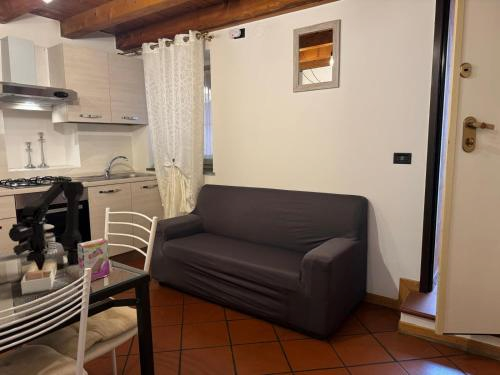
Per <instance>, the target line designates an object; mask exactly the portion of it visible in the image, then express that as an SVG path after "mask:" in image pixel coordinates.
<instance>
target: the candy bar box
mask: <svg viewBox="0 0 500 375" xmlns="http://www.w3.org/2000/svg"><path fill="white" fill-rule="evenodd" d="M83 242H84V241H83ZM108 244H109V241H108V239H105V238H98V239H93V240H89V241H85V242H84V243H80V244H77V248H78V261H79V264H78V272H79V279H80V278H81V277H82V276H83V275H84V269H85V268H91V269H92V280H95V279H97V278H99V277H102V276H105V275H108V274H109V275H110V261H109V245H108ZM95 281H96V280H95Z"/></svg>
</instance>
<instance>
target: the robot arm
mask: <svg viewBox="0 0 500 375" xmlns="http://www.w3.org/2000/svg"><path fill="white" fill-rule="evenodd" d="M84 189H85V187H84V184H83V183H82V182H81V181H66V180H56V181H54V182H53V184H52V185H51V186H50V187H49V188H48V189H47V190H46V191H44V192H43V194H42V195H41V196H39V198H38V199H36V200H33V201H31V202H29V203H28V204H27V205H25V206H24V207H23V209H22V212H21V214H20V217H19V219H18V221H17V223H13V224H12V227H11V228H10V229H9V232H8V237H9V239H10V240H11V241H13V242H15V243H17V242H21V241H23V240H25V239H27V240H26V241H23V242H21V243H19V244H16V245H14V247H13V248H12V250H13V253H14V254H15V255H16V256H19V255H21V254H23V253H25V252H27V251H28V252H29V253H28V254H27V255H26V262H35V263H36V265H37V267H38V269H39V270H42V268H43V265H44V262H45V261H46V258H47V256H48V255H47V252H48V251H45V250H43V249H46V247H47V248H49V247H50V246H49V243H48V242H47V241H45V237H46V236H45V233H46V232H45V230H44V224H45V223H46V222H48V219H46V217H45V218H44V216H46V215H47V213H48V211H49V206H50V205H52V203H53V202H54V201H55V200H56V199H57V198H58V197H59V196H60V195H61V194H62V193H63V195H64V198H66V200H67V202H66V207H67V208H66V226H65V228H66V229H65V231H64V233H61V234H60V244H61V247H62V248H63V251H64V252H67V253H66V261H67V264H68V266H72V265H73V266H74V265H79V261H78V248H77V244H80V243H84V241H83V240H82V234H81V233H80V231H79V214H80V213H79V210H80V209H79V208H80V200H81V198H82V196H83V195H84Z"/></svg>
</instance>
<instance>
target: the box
mask: <svg viewBox="0 0 500 375" xmlns="http://www.w3.org/2000/svg"><path fill="white" fill-rule="evenodd" d="M54 282H55V279H54V273H53V269H52V270H51V273H50V277H49V278H42V279H36V280H30V281H28V278H27V272H25V273H24V275H23V277H22V279H21V281H20V288H21V293H22V295H27V294H33V293H39V292H45V291H51V290H53V286H54Z"/></svg>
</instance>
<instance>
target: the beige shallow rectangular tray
mask: <svg viewBox="0 0 500 375" xmlns="http://www.w3.org/2000/svg"><path fill="white" fill-rule="evenodd" d="M52 269H53V273H54V280H55V278H56V273H57V270H58V261H57V259H56V258H55V259H47V260H46V259H45V262H44V265H43V268H42V270H43V278H49V277H50V273H51V270H52ZM42 270H39V269H38V267H37V265H36V263H35V261H31V263H30V264H29V267H28V269H27V271H26V273H27V274H28V273H29V272H35V271H42ZM27 278H28V276H27Z"/></svg>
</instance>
